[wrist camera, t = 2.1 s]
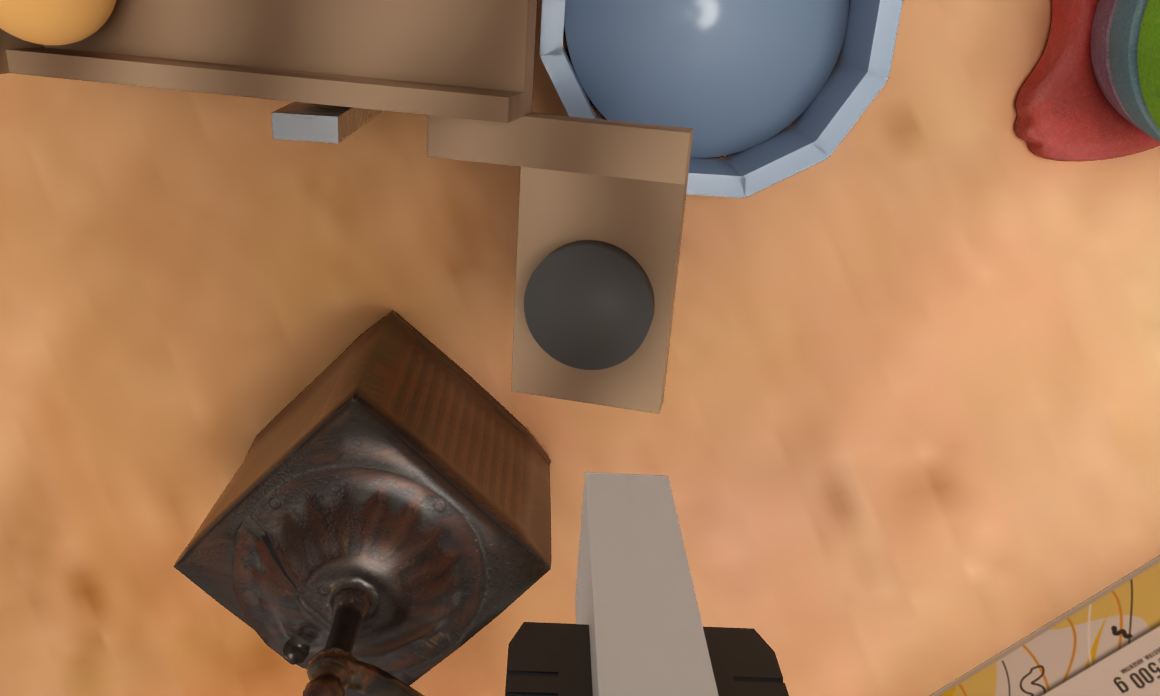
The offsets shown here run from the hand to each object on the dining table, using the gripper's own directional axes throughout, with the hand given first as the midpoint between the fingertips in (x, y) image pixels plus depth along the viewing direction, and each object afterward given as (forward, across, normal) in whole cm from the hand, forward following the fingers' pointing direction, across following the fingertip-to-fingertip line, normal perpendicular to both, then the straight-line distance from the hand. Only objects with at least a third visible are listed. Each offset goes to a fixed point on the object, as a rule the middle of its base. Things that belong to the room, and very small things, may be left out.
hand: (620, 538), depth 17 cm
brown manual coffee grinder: (+24, -6, -13) cm, 28 cm away
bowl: (+24, +4, +9) cm, 26 cm away
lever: (+16, -8, +4) cm, 18 cm away
